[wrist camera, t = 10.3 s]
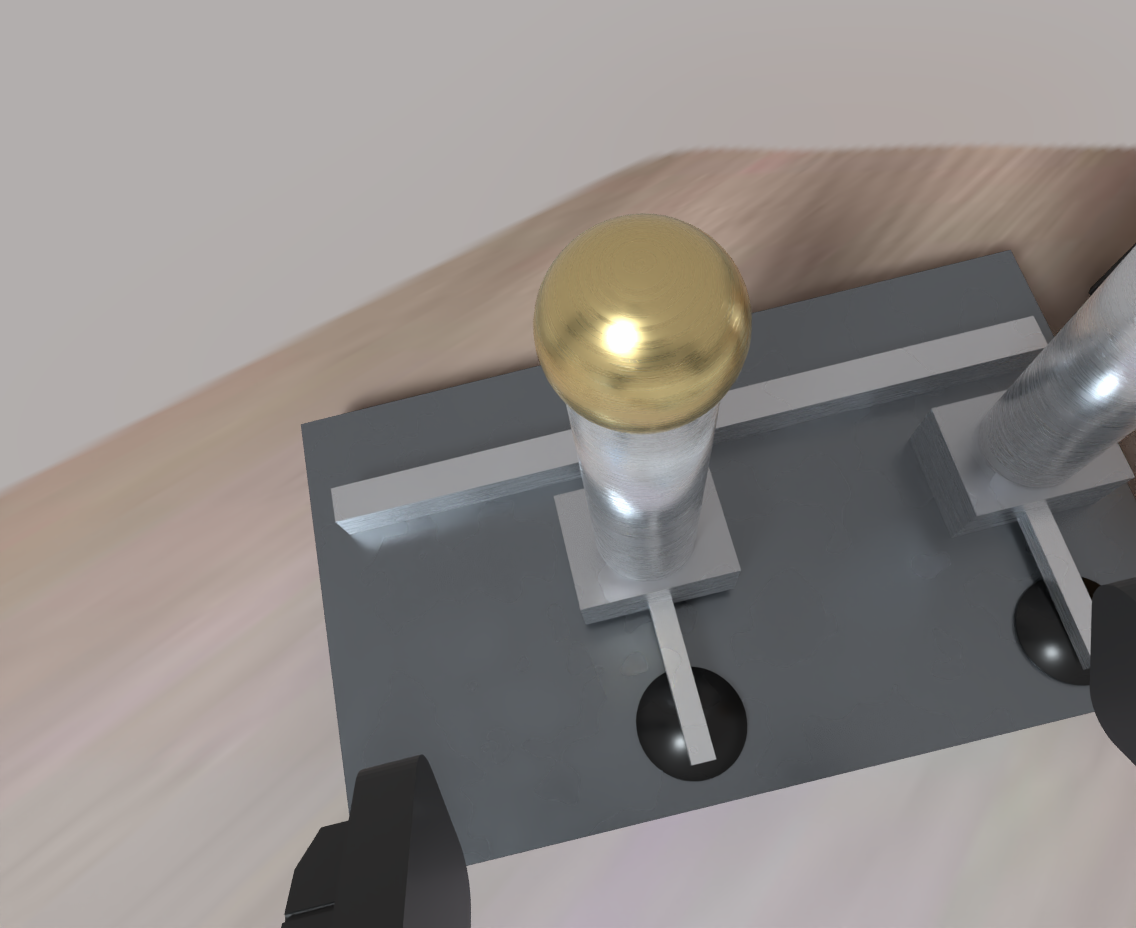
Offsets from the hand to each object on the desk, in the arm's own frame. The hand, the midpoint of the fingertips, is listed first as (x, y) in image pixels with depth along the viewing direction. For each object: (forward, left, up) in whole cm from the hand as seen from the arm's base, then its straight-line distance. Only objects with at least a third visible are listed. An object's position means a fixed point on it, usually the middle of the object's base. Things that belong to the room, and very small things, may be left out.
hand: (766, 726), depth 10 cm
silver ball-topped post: (+10, +3, -12) cm, 16 cm away
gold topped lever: (0, +3, -12) cm, 12 cm away
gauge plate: (+2, +5, -14) cm, 15 cm away
